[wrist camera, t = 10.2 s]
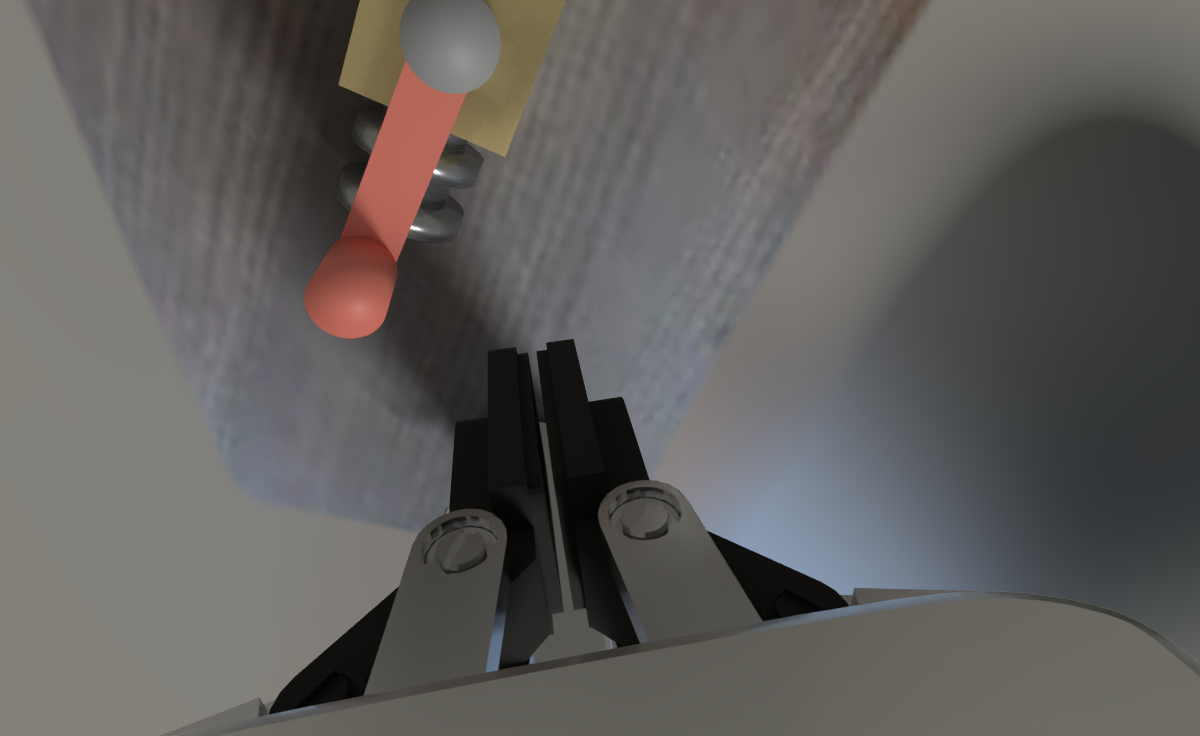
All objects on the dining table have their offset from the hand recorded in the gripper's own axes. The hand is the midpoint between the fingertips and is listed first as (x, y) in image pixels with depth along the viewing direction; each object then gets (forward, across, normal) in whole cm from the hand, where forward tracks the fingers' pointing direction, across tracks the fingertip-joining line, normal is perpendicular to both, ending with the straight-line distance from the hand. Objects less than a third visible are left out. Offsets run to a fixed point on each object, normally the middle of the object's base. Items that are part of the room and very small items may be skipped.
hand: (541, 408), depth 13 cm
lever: (+18, +4, -1) cm, 18 cm away
